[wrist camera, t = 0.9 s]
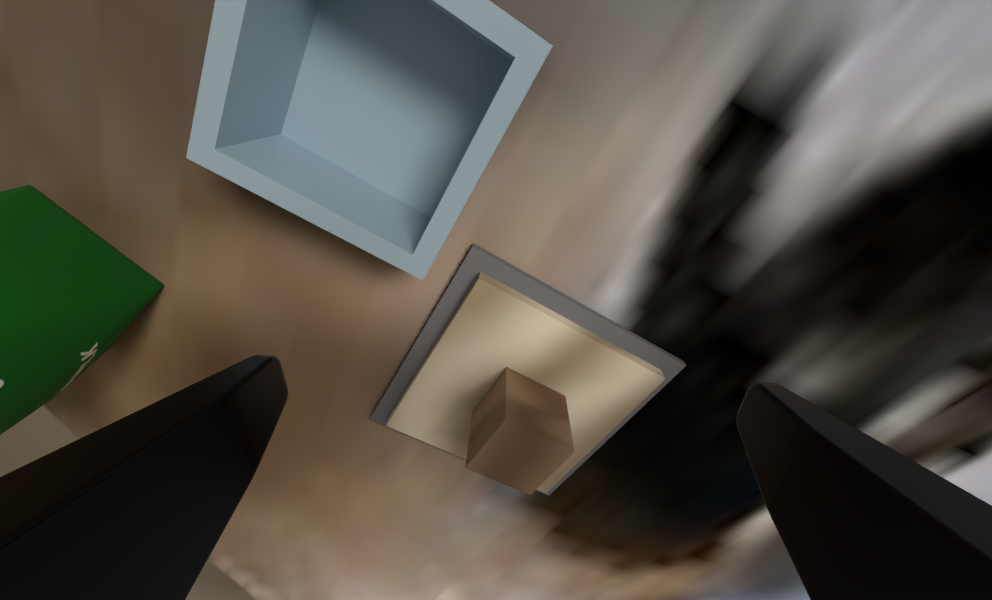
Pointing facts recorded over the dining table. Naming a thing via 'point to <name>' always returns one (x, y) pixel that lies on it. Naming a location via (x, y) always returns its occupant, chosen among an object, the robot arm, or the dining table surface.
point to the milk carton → (57, 300)
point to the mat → (541, 294)
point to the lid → (520, 389)
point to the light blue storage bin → (362, 111)
